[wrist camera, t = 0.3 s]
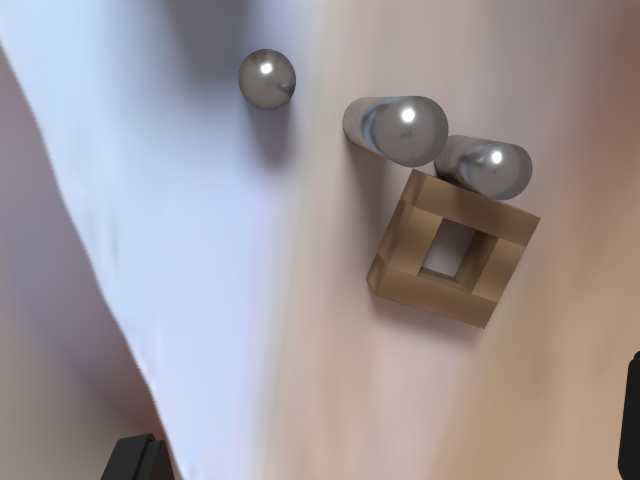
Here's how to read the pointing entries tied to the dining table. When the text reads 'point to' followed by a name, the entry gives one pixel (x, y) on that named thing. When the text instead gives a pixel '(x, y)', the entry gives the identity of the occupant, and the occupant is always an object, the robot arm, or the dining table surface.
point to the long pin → (398, 128)
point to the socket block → (478, 263)
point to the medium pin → (485, 166)
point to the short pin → (267, 79)
